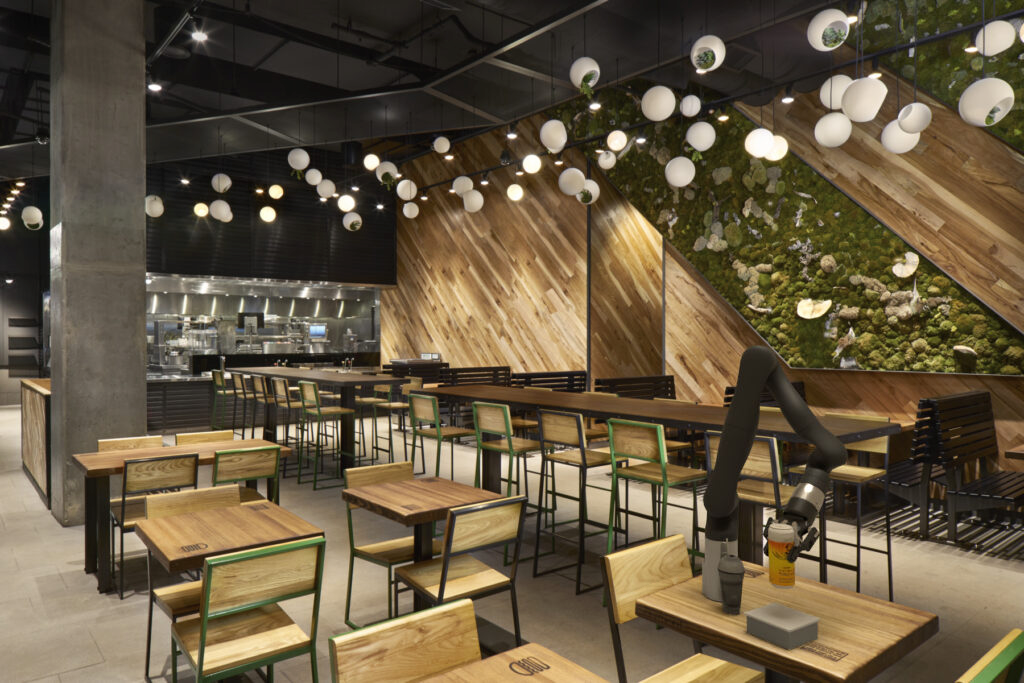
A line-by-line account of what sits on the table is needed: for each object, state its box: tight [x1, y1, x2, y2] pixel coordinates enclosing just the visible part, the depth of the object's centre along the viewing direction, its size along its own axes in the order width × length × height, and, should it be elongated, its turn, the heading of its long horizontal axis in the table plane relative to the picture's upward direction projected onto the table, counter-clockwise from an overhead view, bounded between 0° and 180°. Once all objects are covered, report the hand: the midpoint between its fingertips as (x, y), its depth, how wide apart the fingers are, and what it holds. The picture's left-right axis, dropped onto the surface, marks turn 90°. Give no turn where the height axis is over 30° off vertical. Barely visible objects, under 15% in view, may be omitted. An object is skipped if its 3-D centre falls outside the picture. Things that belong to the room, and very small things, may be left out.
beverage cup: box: [717, 538, 746, 616], centre depth 182 cm, size 7×7×20 cm
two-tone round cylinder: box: [768, 524, 796, 590], centre depth 167 cm, size 6×6×15 cm
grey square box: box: [743, 602, 822, 650], centre depth 166 cm, size 13×13×5 cm
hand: (777, 557), depth 166 cm, fingers closed on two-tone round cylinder, 6 cm apart
